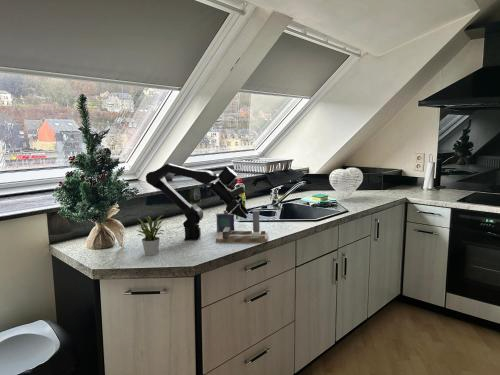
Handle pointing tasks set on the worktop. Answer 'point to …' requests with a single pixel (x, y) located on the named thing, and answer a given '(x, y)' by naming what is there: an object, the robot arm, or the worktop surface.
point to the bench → (240, 236)
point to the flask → (225, 221)
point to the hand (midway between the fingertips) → (247, 215)
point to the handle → (256, 223)
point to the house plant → (150, 236)
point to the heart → (341, 171)
